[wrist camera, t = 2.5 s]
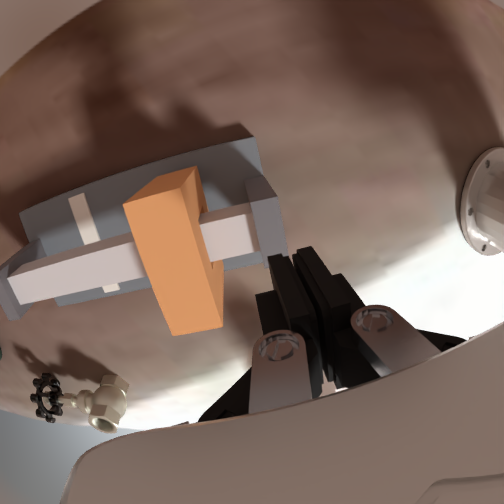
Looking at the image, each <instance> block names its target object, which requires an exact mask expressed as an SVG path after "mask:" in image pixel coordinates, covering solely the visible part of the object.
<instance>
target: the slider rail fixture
mask: <svg viewBox="0 0 504 504" xmlns="http://www.w3.org/2000/svg"><path fill="white" fill-rule="evenodd" d="M193 166H197V168H198V171H199V175H200V179H201V183H202V187H203V191H204V195H205V198H206V202H207V206H208V210H209V212H205V213H201V214H200V216H199V219H198V221H199V225H200V228H201V232H202V235H203V239H204V242H205V246H206V249H207V252H208V256H209V259H210V262H213V261H217V260H222V261H223V265H224V271H228V270H232V269H237V268H241V267H246V266H250V265H255V264H259V263H264V267H265V268H269V264H268V259H267V256H272V255H276V254H280V253H282V255H283V257H284V256H289V254H288V249H287V243H286V238H285V233H284V227H283V222H282V217H281V211H280V206H279V201H278V196H277V195H276V193H275V192H274V190H273V189H272V187H271V186H270V185H269V183H268V182H267V180H266V179H265V177H264V176H263V171H262V167H261V162H260V157H259V153H258V148H257V143H256V139H255V137H254V136H252V137H248V138H243V139H238V140H234V141H230V142H225V143H221V144H217V145H213V146H209V147H205V148H201V149H197V150H193V151H189V152H186V153H182V154H178V155H175V156H171V157H168V158H164V159H161V160H158V161H154V162H151V163H148V164H144V165H141V166H138V167H135V168H132V169H129V170H126V171H123V172H120V173H117V174H114V175H111V176H108V177H105V178H102V179H99V180H97V181H94V182H91V183H88V184H86V185H83V186H80V187H78V188H75V189H73V190H70V191H68V192H65V193H63V194H60V195H58V196H55V197H53V198H50V199H48V200H46V201H43V202H41V203H39V204H36V205H34V206H32V207H29V208H27V209H25V210H23V211H22V212H20V213H19V216H20V219H21V222H22V225H23V227H24V230H25V233H26V235H27V238H28V240H29V244H27V245H26V246H25V247H23V248H22V249H21V250H20V251H18V252H17V253H16V254H14V255H13V256H12V257H11V258H9V259H8V260H7V261H6V262H4V263H3V264H2V265H1V266H0V304H1V306H2V308H3V310H4V312H5V314H6V316H7V317H8V319H9V321H12V320H18V319H21V318H22V316H23V315H24V314H25V313H26V312H27V310H28V309H29V308H30V307H31V306H32V305H33V303H34V302H36V301H40V300H44V299H49V298H53V297H54V299H55V301H56V303H57V305H58V307H59V306H64V305H69V304H74V303H79V302H84V301H88V300H93V299H98V298H103V297H108V296H112V295H117V294H122V293H127V292H131V291H136V290H141V289H145V288H150V287H152V285H151V283H150V280H149V278H148V275H147V272H146V270H145V267H144V264H143V262H142V259H141V256H140V254H139V251H138V248H137V245H136V243H135V240H134V237H133V234H132V231H131V228H130V225H129V222H128V219H127V216H126V213H125V210H124V207H123V203H125V202H126V201H127V200H128V199H129V198H131V197H132V196H133V195H134V194H136V193H137V192H138V191H139V190H141V189H142V188H143V187H144V186H146V185H147V184H148V183H149V182H151V181H152V180H153V179H155V178H156V177H157V176H161V175H164V174H168V173H171V172H175V171H178V170H182V169H186V168H189V167H193Z"/></svg>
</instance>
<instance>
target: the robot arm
mask: <svg viewBox="0 0 504 504" xmlns="http://www.w3.org/2000/svg"><path fill="white" fill-rule="evenodd" d="M460 214H461V225H462V230H463V234H464V236H465V238H466V241H467V242H468V244H469V245H470V246H471V247H472V248H473V249H474V250H475V251H477V252H478V253H480V254H482V255H486V256H491V255H496V254H498V253H500V252H503V253H504V148H503V147H493V148H491V149H488V150H486V151H485V152H484V153H483V154H481V155H480V157H479V158H478V159H477V160H476V161H475V163H474V164H473V166H472V168H471V170H470V172H469V174H468V176H467V179H466V182H465V185H464V189H463V193H462V199H461V212H460ZM267 259H268V264H269V269H270V273H271V278H272V283H273V288H274V290H272V291H268V292H264V293H260V294H255V297H256V301H257V306H258V311H259V316H260V320H261V325H262V330H263V335H264V336H262V337H261V338H260V339H258V341H257V342H256V343H255V345H254V348H253V357H252V367H251V368H250V369H249V370H248V371H247V372H246V373H245V374H244V375H243V376H242V377H241V378H240V379H239V380H238V381H237V382H236V383H235V384H234V385H233V386H232V387H231V388H230V389H229V390H228V391H227V392H226V393H225V394H223V395H222V396H221V397H220V398H219V399H218V400H217V401H216V402H215V403H214V404H213V405H212V406H211V407H210V408H209V409H208V410H207V411H205V412H204V413H203V415H202V416H201V417H200V418H199V420H198V422H196V423H192V424H190V423H189V422H188V421H187V422H184V423H181V424H178V425H174V426H171V427H164V428H156V429H151V430H146V431H140V432H135V433H131V434H127V435H124V436H120V437H116V438H114V439H111V440H109V441H106V442H103V443H101V444H99V445H97V446H95V447H93V448H91V449H89V450H88V451H86V452H85V453H84V454H83V455H82V456H81V457H80V458H79V459H78V460H77V462H76V463H75V465H74V466H73V468H72V470H71V472H70V474H69V476H68V479H67V482H66V484H65V487H64V490H63V493H62V496H61V500H60V504H504V322H502V323H500V324H498V325H496V326H494V327H493V328H491V329H489V330H487V331H485V332H483V333H481V334H479V335H477V336H473V337H469V340H465V339H463V338H459V337H455V336H450V335H444V334H439V333H434V332H429V331H424V330H418V329H415V328H414V327H413V326H412V325H411V324H409V323H408V322H407V321H406V320H405V319H404V318H403V317H401V316H400V315H399V314H398V313H397V312H396V311H395V310H393V309H391V308H390V307H387V306H384V305H368V306H365V304H364V303H363V302H362V300H361V299H360V298H359V296H358V295H357V293H356V292H355V291H354V289H353V288H352V287H351V285H350V284H349V283H348V281H347V280H346V279H345V277H344V276H343V275H342V274H341V273H339V274H336V275H331V273H330V272H329V270H328V269H327V267H326V266H325V265H324V263H323V262H322V260H321V259H320V257H319V256H318V255H317V253H316V252H315V250H314V249H313V248H312V246H309V247H305V248H301V249H297V254H293V255H292V259H293V264H294V266H293V264H292V262H291V260H290V258H289V256H284V257H283V255H282V253H280V254H276V255H272V256H267ZM323 371H324V374H325V376H326V379H327V381H328V382H332V381H334V384H335V386H336V389H341V388H344V387H346V388H348V389H345V390H341V391H338V392H335V393H331V394H328V395H325V396H321V397H319V396H320V395H321V393H322V384H324V379H323Z"/></svg>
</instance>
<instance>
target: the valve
mask: <svg viewBox="0 0 504 504" xmlns="http://www.w3.org/2000/svg"><path fill="white" fill-rule="evenodd" d="M41 377H42V379H37V378H35V379H34V380H33V385H34V386H35V387H36V389H37V391H36V394H31V396H30V399H31V401H32V402H34V403H37V404H38V409H37V410H36V415H37V417H40V418H45V419H46V421H47V422H50V423H54V422H55V418H53V417H52V414H53V415H57V416H62V414H63V411H62V409H61V407H62V406H63V404H64V406H67V407H71V408H77V407H78V408H79V409H80V411H81V412H82V413H84V414H89V421H88V422H89V424H90V425H91V426H93V427H94V428H95V429H97V430H99V431H101V432H104V433H116V432H117V428H118V424H119V420H120V418H121V417H122V416H123V415H124V414H125V412H126V408H127V401H126V394H127V391H128V387H129V384H128V383H127V382H126V381H124V380H123V379H122V378H121V377H119V376H118V375H103V378H102V381H101V383H100V387H99V388H98V389H97V390H96V391H95V392H94V393H93V392H92V391H90V390H81V391H80V392H79V394H78V395H75V394H71V393H65V394H64V395H63V394H62V390H61V388H60V382H59V381H58V380H55V379H52V380H51V381H50V382H49V378H51V375H50V374H49V373H42V376H41ZM42 380H43V381H42ZM45 386H48V387H50V389H51V391H49V392H47V391H45V393H43V392H42V391H43V389H44V387H45ZM42 397H43V400H44V402H45V403H46V404H49V405H51V406H52V407H51V409H50V410H47V409H46V408H45V407H44V405H43V402H42ZM44 414H46V416H45V415H44Z"/></svg>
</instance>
